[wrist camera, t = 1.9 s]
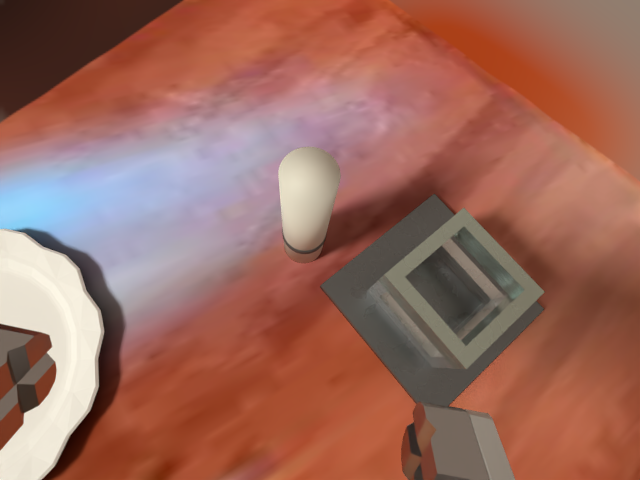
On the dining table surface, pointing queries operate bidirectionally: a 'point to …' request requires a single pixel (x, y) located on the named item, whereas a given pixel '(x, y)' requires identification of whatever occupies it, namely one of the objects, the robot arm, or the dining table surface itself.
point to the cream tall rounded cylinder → (307, 200)
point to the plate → (67, 349)
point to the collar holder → (435, 300)
